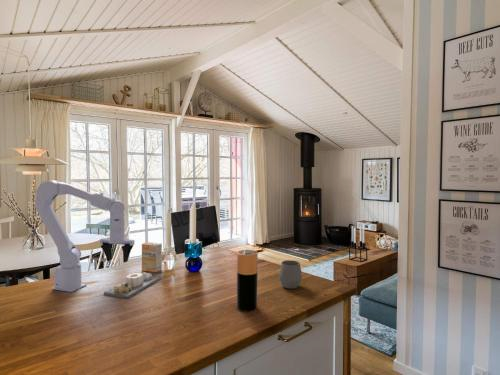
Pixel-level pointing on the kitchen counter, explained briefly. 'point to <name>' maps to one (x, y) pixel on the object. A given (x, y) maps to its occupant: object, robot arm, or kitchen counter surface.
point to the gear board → (127, 290)
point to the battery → (247, 279)
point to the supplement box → (151, 257)
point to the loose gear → (134, 279)
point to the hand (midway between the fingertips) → (117, 261)
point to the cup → (290, 274)
